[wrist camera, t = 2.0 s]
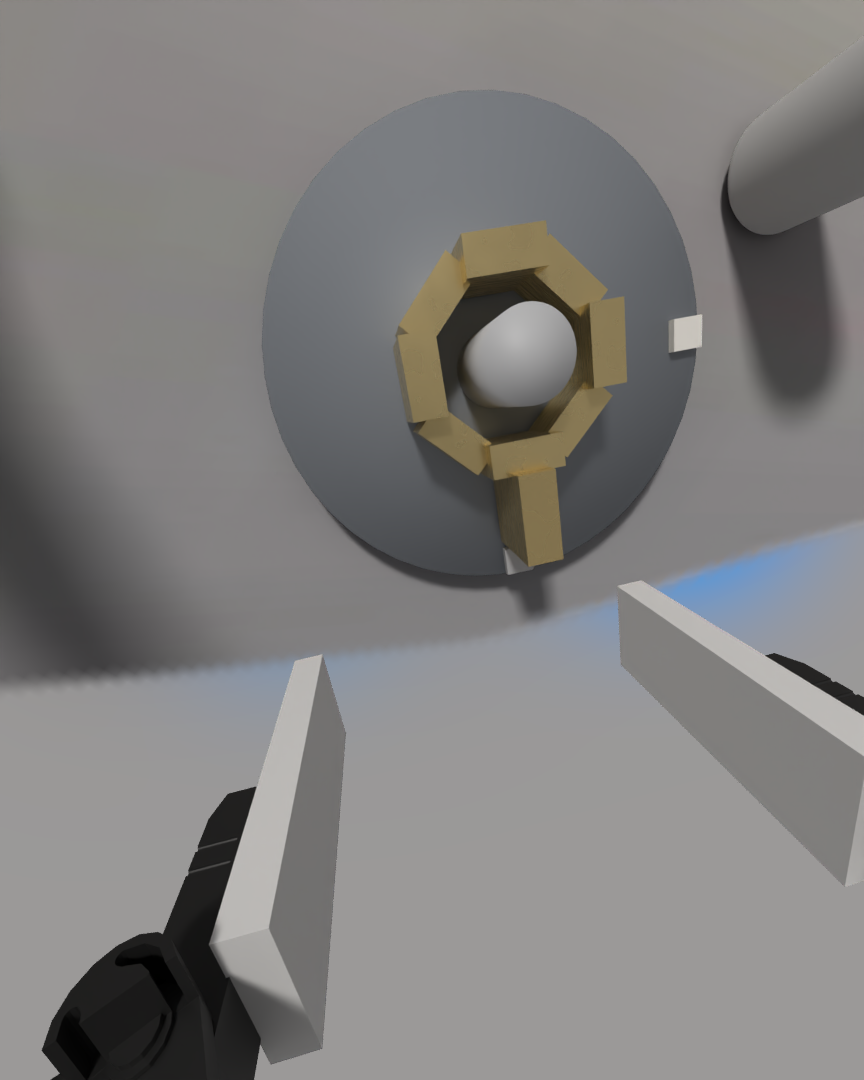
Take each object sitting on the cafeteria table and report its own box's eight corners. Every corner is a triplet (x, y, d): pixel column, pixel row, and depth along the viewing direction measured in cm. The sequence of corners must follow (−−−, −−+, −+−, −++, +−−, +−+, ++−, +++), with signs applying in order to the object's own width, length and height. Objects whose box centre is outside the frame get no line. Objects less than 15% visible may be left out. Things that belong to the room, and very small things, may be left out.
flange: (207, 150, 22) (119, 8, 14) (674, 89, 24) (817, -63, 16) (332, 600, 30) (319, 664, 22) (675, 524, 32) (771, 558, 24)
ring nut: (378, 274, 22) (381, 236, 18) (580, 242, 23) (634, 198, 19) (432, 556, 27) (445, 585, 23) (596, 520, 28) (642, 541, 23)
